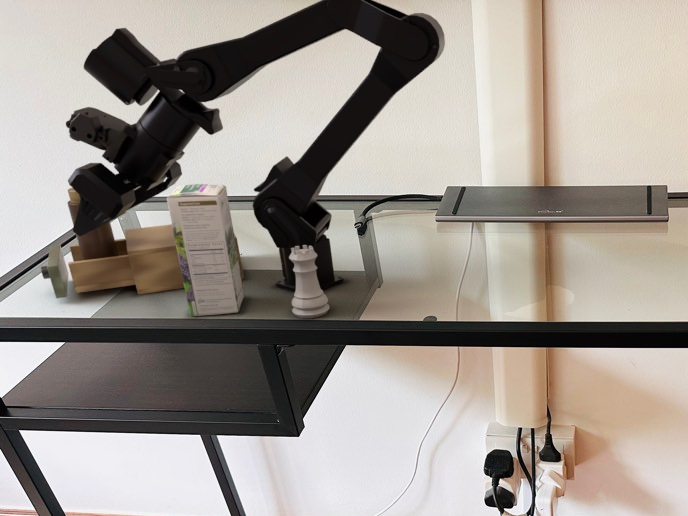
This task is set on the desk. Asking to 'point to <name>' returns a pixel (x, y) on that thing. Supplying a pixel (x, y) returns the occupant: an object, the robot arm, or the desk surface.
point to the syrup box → (206, 248)
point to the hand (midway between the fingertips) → (94, 223)
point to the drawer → (88, 270)
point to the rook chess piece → (307, 285)
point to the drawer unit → (156, 259)
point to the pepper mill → (93, 235)
